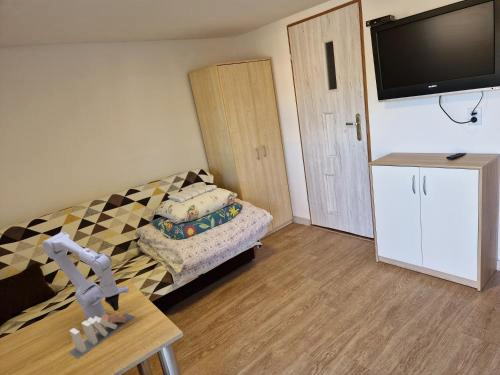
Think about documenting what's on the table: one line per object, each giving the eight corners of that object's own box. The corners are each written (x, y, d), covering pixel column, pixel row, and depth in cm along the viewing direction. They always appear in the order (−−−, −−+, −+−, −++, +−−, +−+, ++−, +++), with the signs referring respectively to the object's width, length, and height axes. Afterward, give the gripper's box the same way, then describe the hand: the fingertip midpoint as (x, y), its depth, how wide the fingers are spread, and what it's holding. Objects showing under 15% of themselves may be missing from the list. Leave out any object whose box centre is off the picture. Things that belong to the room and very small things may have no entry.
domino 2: (87, 341, 144) (81, 323, 141) (91, 338, 145) (85, 320, 142) (94, 344, 140) (87, 326, 138) (98, 341, 142) (91, 323, 139)
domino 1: (76, 349, 140) (69, 330, 137) (80, 346, 141) (73, 328, 139) (82, 353, 137) (75, 334, 134) (86, 350, 138) (79, 331, 136)
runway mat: (68, 353, 139) (68, 352, 139) (125, 313, 159) (125, 312, 159) (78, 359, 134) (78, 358, 134) (135, 317, 154) (135, 317, 154)
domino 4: (109, 326, 151) (92, 319, 145) (111, 322, 152) (95, 315, 146) (115, 329, 148) (99, 323, 142) (117, 325, 149) (101, 318, 143)
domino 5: (118, 319, 155) (101, 318, 148) (120, 315, 155) (102, 313, 148) (125, 322, 152) (107, 321, 145) (126, 318, 152) (108, 316, 145)
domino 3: (98, 333, 147) (86, 320, 143) (102, 329, 148) (90, 317, 144) (105, 336, 144) (92, 323, 140) (108, 333, 145) (96, 320, 141)
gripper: (126, 274, 152) (134, 300, 155) (93, 281, 150) (102, 307, 154) (123, 282, 145) (131, 309, 148) (88, 290, 144) (97, 317, 147)
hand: (116, 309), depth 151 cm, fingers closed
